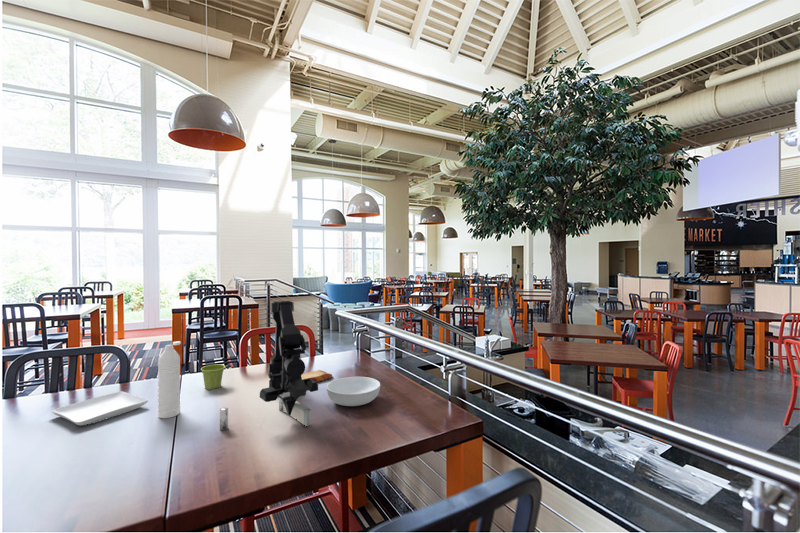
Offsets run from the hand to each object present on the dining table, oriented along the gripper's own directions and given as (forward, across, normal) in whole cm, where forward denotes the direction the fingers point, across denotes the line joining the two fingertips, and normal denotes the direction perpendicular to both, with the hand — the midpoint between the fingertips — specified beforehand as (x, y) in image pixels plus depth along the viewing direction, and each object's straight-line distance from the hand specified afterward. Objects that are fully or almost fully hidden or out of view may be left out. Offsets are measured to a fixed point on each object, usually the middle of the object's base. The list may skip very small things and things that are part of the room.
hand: (289, 415), depth 118 cm
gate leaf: (+2, +3, 0) cm, 3 cm away
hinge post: (+2, +2, +11) cm, 11 cm away
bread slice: (+2, +26, +34) cm, 42 cm away
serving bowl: (+2, +26, 0) cm, 26 cm away
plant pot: (+3, -10, +54) cm, 55 cm away
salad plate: (+4, -47, +52) cm, 70 cm away
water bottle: (+3, -28, +34) cm, 45 cm away
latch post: (+3, -18, +9) cm, 20 cm away
